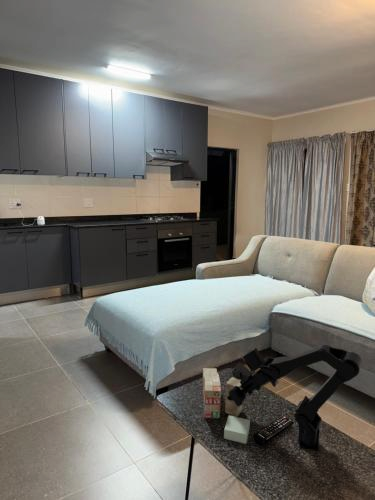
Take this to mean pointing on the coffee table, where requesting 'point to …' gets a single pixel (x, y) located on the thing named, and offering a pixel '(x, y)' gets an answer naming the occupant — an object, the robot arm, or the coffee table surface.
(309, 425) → the robot arm
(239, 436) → the sage base block
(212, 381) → the stack of blocks
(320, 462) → the coffee table surface
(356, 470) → the coffee table surface
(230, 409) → the maple pillar
